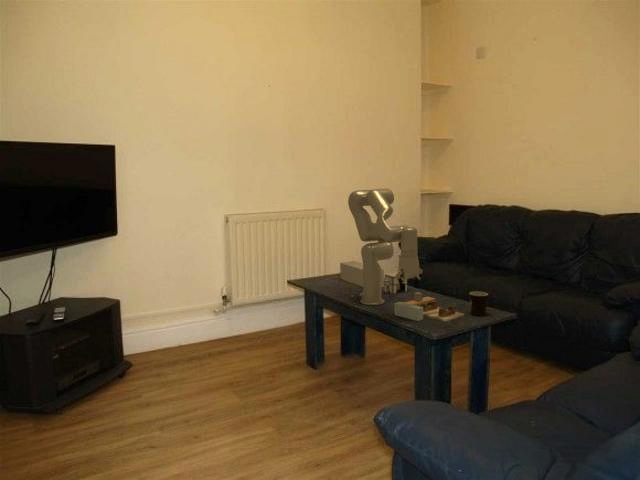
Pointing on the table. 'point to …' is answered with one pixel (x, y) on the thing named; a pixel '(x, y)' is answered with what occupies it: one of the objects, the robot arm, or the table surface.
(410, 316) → the pale grey bar
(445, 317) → the jig
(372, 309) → the table surface
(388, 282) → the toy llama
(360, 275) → the grey rectangular block
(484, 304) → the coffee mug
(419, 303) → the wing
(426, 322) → the table surface
